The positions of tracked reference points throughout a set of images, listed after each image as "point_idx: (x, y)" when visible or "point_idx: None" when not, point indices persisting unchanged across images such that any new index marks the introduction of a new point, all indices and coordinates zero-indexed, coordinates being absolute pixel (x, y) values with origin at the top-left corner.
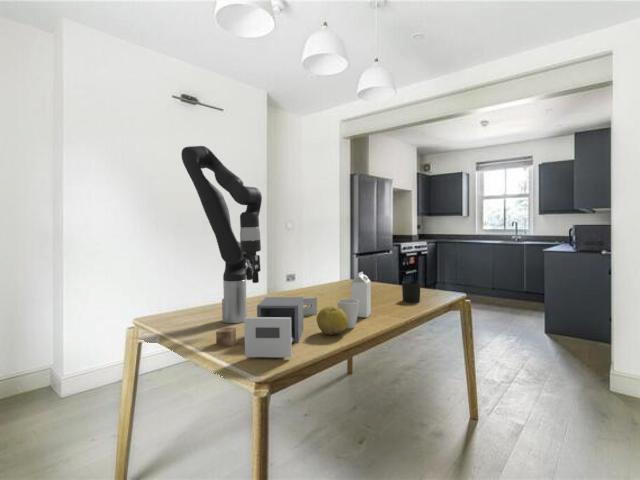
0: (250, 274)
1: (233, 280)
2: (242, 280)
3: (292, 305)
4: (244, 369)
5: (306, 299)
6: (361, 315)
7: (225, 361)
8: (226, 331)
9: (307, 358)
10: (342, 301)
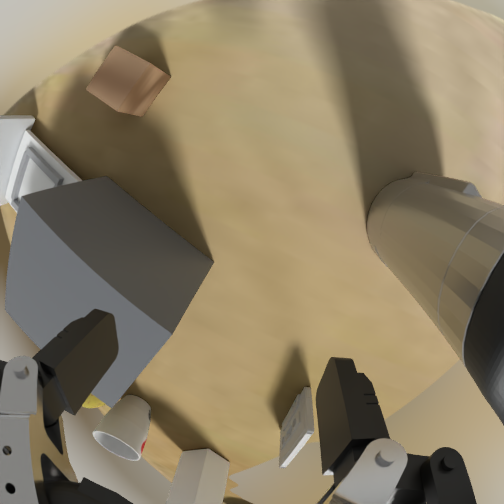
0: (324, 427)
1: (497, 272)
2: (465, 344)
3: (6, 300)
4: (13, 108)
5: (289, 452)
6: (189, 453)
7: (48, 76)
8: (96, 75)
9: (8, 226)
10: (139, 451)
